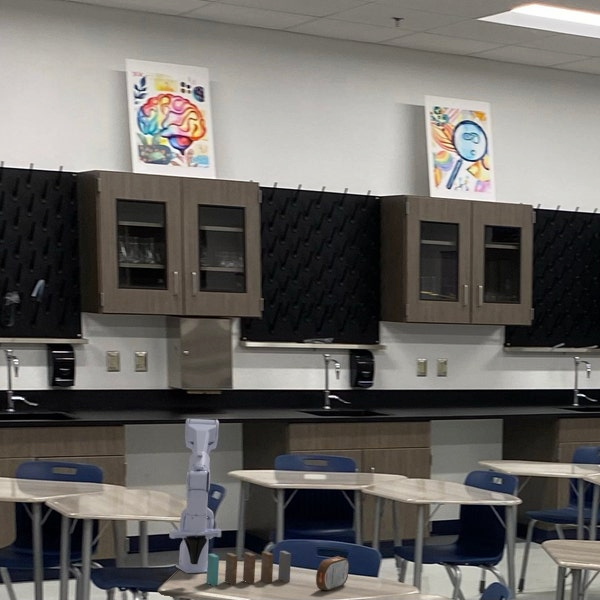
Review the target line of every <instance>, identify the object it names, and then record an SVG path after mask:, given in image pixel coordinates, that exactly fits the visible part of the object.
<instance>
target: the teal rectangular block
mask: <svg viewBox="0 0 600 600" xmlns="http://www.w3.org/2000/svg"><path fill="white" fill-rule="evenodd" d="M219 565H220V556H218V555H217V554H215V553H208V560H207V572H206V584H208V583H209V584H211V585H219ZM209 584H208V585H209ZM211 585H210V586H211Z"/></svg>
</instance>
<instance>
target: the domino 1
mask: <svg viewBox="0 0 600 600" xmlns="http://www.w3.org/2000/svg"><path fill="white" fill-rule="evenodd" d="M238 557H239V556H238V555H236V554H234V553H232V552H227V553H226V555H225V572H224V574H225V575H224V582H225V581H226V582H228V583H230V584H236V585H237V575H238ZM226 582H225V583H226ZM228 583H227V584H228ZM230 584H229V585H230Z"/></svg>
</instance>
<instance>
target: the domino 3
mask: <svg viewBox="0 0 600 600" xmlns="http://www.w3.org/2000/svg"><path fill="white" fill-rule="evenodd" d="M260 567H261V568H260V581H261V582H263V583H266V584H273V575H274V573H273V571H274V554H273V553H271V552H269V551H261V566H260Z"/></svg>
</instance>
